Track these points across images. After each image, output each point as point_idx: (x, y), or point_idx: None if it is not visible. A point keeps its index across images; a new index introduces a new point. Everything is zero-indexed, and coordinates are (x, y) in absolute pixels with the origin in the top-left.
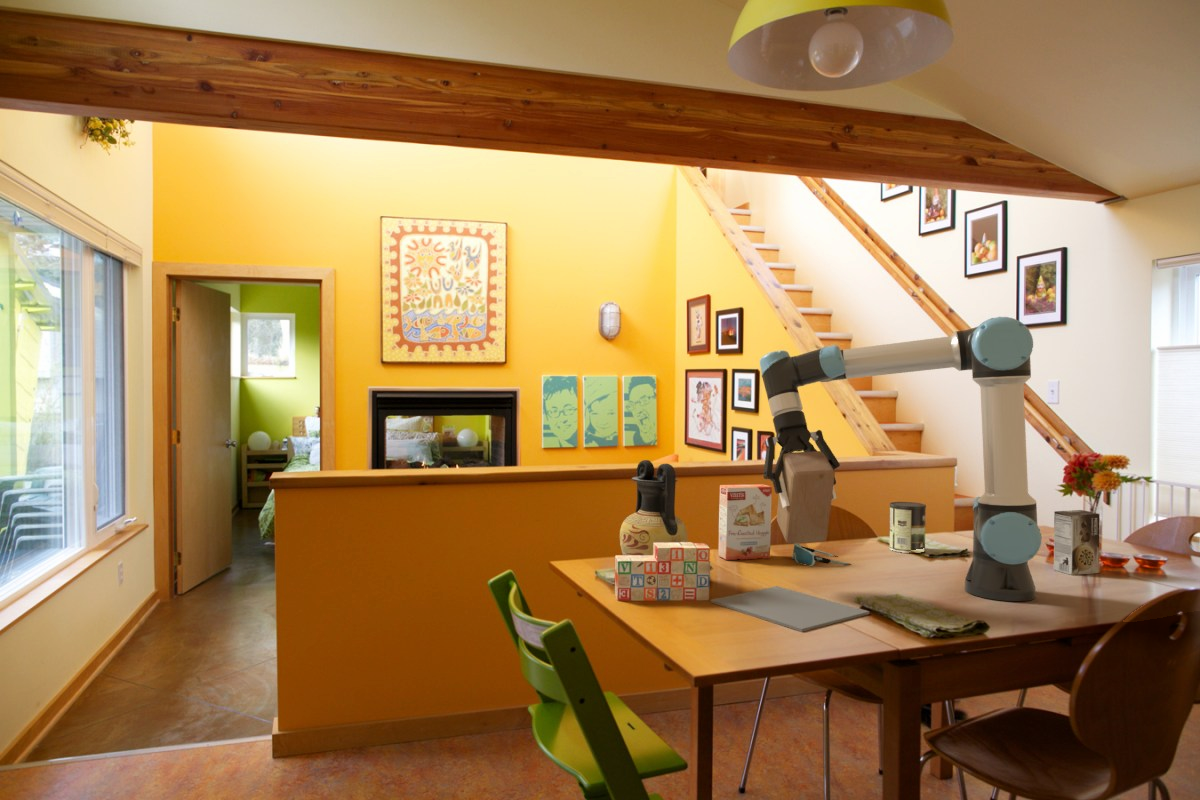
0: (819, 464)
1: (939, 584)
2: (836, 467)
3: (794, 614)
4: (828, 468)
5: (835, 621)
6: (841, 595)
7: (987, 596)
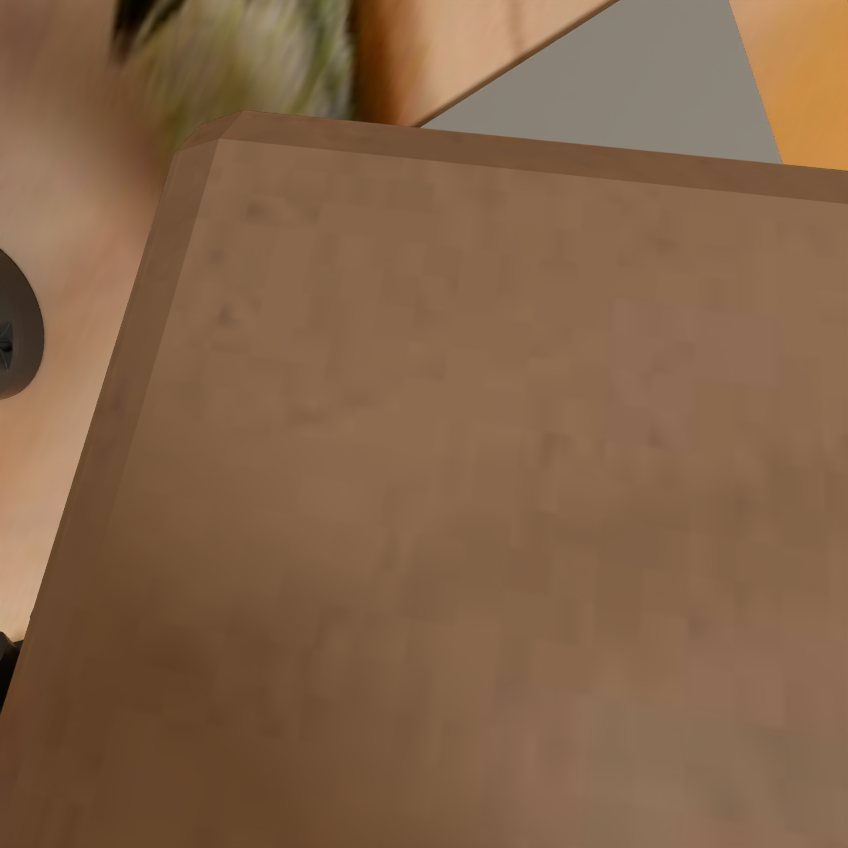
0: (340, 371)
1: (81, 427)
2: (14, 649)
3: (644, 129)
4: (238, 193)
5: (542, 50)
6: None
7: (13, 268)
